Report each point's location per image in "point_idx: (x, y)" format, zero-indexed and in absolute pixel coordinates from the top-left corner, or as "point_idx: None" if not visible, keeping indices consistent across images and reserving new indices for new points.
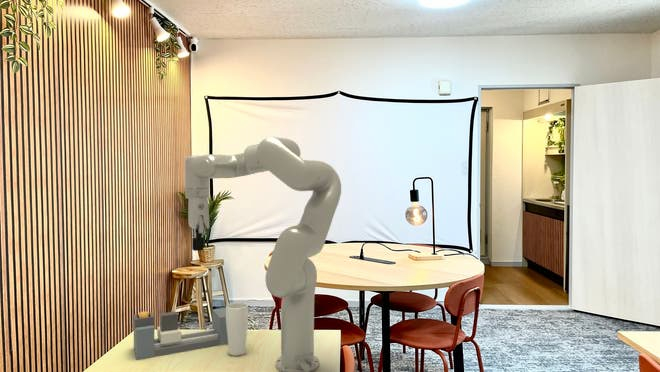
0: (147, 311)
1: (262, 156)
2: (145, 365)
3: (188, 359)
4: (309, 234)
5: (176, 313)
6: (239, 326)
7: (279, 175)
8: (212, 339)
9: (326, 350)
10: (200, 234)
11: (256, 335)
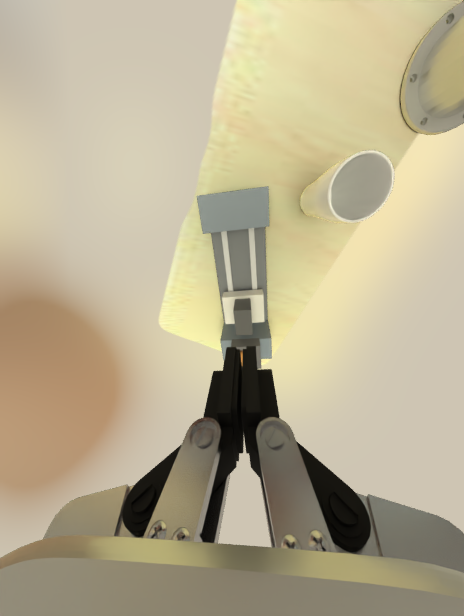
0: (241, 356)
1: None
2: (289, 325)
3: (298, 277)
4: None
5: (247, 311)
6: (362, 192)
7: None
8: (261, 237)
9: None
10: (319, 481)
11: (242, 134)
